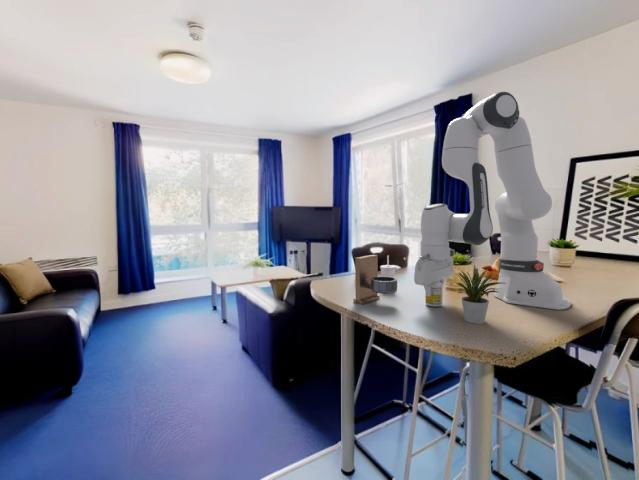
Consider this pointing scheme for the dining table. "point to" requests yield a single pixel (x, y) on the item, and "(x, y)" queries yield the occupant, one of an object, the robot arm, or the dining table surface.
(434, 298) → the supplement bottle
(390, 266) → the smoothie
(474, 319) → the house plant
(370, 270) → the cup bracket
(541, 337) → the dining table surface
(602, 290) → the dining table surface
